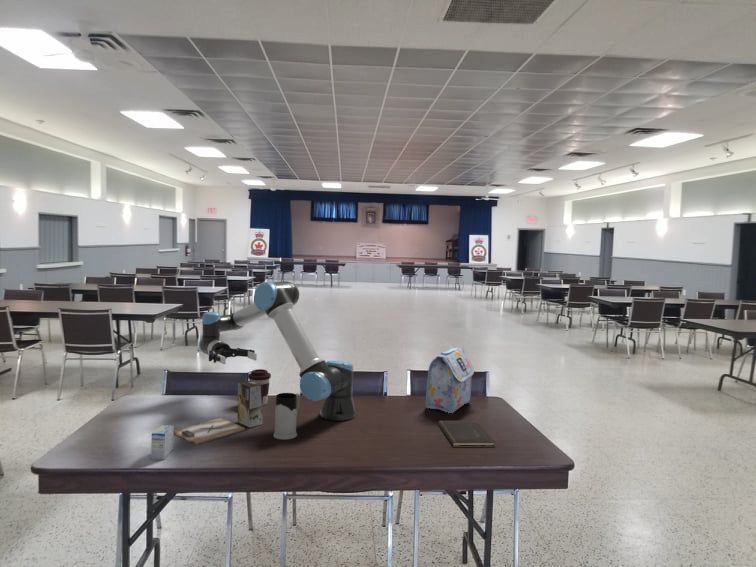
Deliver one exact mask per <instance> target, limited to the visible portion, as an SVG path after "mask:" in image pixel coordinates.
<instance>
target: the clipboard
mask: <svg viewBox="0 0 756 567" xmlns="http://www.w3.org/2000/svg"><path fill="white" fill-rule="evenodd" d="M245 429H246V428H245V426H244V427H243V426H241V425H238V424H236V423H234V422H232V421H229V420H226V419H224V418H222V417H220V418H215V419H211V420H208V421H205V422H202V423H201V422H200V423H196V424H193V425H189V426H185V427H182V428H178V429H174V435H176V436H178V437H180V438H182V439H184V440H186V441H187V442H190V443H192V444H194V445H199V444H203V443H206V442H210V441H212V440H216V439H219V438H223V437H226V436H229V435H232V434H236V433H239V432H243V431H245Z"/></svg>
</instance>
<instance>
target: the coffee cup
mask: <svg viewBox="0 0 756 567" xmlns="http://www.w3.org/2000/svg"><path fill="white" fill-rule="evenodd" d="M271 375H272V374H271V373H270V372H268V370H267V369H262V368H259V369H253V370H251V371H250V373H248V374H247V378H248V381H249V380H252V381H255V382H258V383H260V384H263V406H265V405H267V404H268V398H269V397H268V396H269V390H270V379H271V378H272V376H271Z"/></svg>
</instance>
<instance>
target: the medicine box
mask: <svg viewBox="0 0 756 567" xmlns="http://www.w3.org/2000/svg"><path fill="white" fill-rule="evenodd" d="M174 426H175V425H171V424H166V425H165V424H161V425H160V426H158V428H157V429H155V430H154V431H153V432H152V433H151V437H150V438H151V439H150V440H151V444H150V445H151V446H150V447H151V448H150V459H151V460H152V461H153V460H156V461H157V460H158V461H160V460H161V461H164V460H166V458H167V457H168V456H169V455H170V453H171V452H172V451H173V450H174V435H175V434H174V430H175V427H174Z"/></svg>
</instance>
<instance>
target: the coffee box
mask: <svg viewBox="0 0 756 567" xmlns="http://www.w3.org/2000/svg"><path fill="white" fill-rule="evenodd" d="M237 385H238V386H237V423H238V424H241V425H243V426H244V427H248V428H253V427H256V426H261V425H263V409H264V405H263V384H260V383H258V382H255V381H252V380H249V379H248V380H245V381H241V382H238V383H237Z"/></svg>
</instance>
